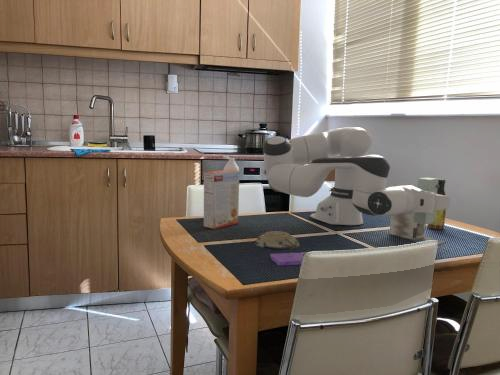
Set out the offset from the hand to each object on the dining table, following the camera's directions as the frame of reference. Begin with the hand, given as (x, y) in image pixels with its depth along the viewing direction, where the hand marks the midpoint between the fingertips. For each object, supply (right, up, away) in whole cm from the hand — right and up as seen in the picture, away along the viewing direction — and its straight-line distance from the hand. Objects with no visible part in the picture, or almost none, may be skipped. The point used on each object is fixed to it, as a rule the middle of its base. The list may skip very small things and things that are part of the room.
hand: (428, 195), depth 145 cm
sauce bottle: (+14, -14, +27) cm, 34 cm away
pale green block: (-1, -9, +1) cm, 9 cm away
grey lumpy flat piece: (-51, -16, -3) cm, 54 cm away
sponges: (-48, -19, -21) cm, 55 cm away
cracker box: (-71, -12, +19) cm, 75 cm away
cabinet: (-1, -16, +10) cm, 18 cm away
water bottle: (-69, -10, +35) cm, 78 cm away
